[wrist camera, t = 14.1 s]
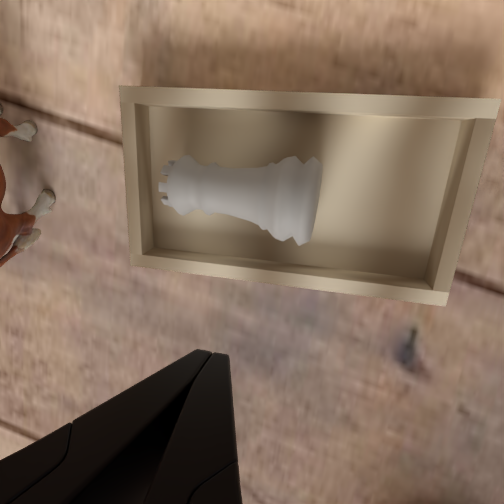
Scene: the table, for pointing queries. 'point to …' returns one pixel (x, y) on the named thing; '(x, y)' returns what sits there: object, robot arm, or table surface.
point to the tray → (332, 185)
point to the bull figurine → (20, 225)
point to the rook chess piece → (249, 193)
